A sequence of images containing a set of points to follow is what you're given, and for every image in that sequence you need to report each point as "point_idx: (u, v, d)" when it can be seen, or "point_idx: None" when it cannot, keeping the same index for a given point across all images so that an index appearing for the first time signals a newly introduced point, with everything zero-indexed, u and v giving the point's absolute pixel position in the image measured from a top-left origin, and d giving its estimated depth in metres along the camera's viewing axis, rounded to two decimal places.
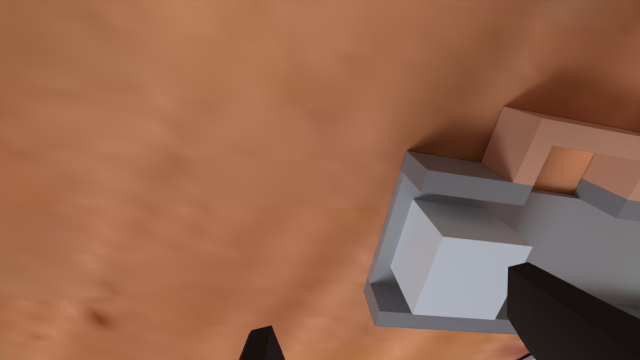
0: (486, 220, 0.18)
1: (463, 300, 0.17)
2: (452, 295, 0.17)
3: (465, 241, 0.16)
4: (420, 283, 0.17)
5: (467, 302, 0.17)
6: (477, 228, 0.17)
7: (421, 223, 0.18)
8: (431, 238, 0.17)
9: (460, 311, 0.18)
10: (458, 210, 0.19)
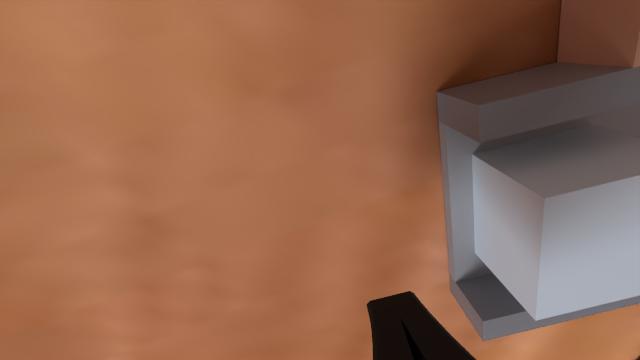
0: (601, 143, 0.11)
1: (610, 277, 0.11)
2: (590, 275, 0.11)
3: (585, 192, 0.09)
4: (530, 274, 0.11)
5: (618, 277, 0.11)
6: (595, 162, 0.10)
7: (498, 185, 0.12)
8: (524, 204, 0.10)
9: (610, 293, 0.11)
10: (548, 144, 0.12)
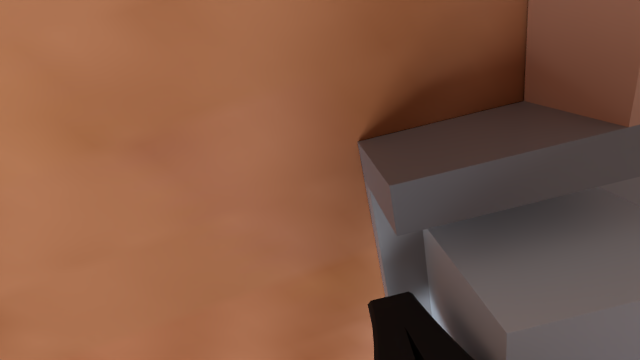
0: (597, 218, 0.08)
1: None
2: None
3: (572, 322, 0.06)
4: None
5: None
6: (588, 258, 0.07)
7: (450, 277, 0.08)
8: (482, 322, 0.07)
9: None
10: (523, 213, 0.09)
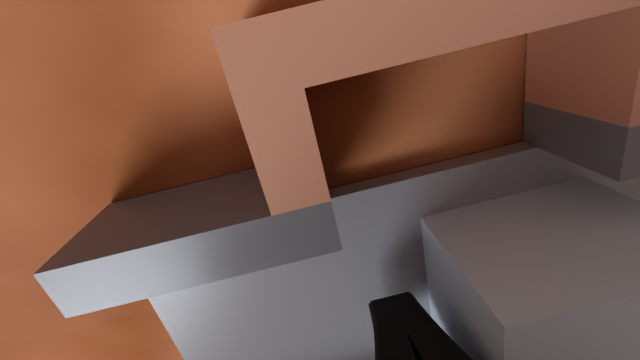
0: (596, 213, 0.08)
1: None
2: None
3: (570, 316, 0.06)
4: None
5: None
6: (586, 252, 0.07)
7: (449, 272, 0.08)
8: (480, 317, 0.07)
9: None
10: (522, 208, 0.09)
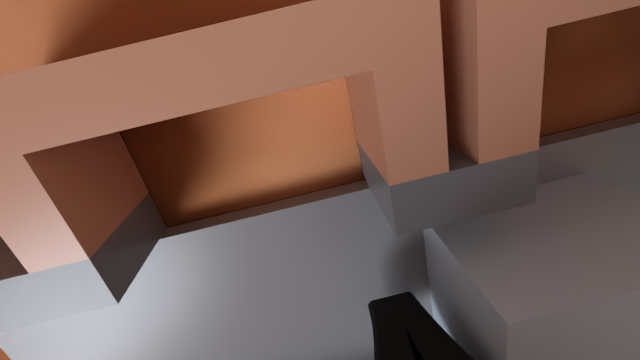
0: (598, 208, 0.08)
1: None
2: None
3: (573, 311, 0.06)
4: None
5: None
6: (589, 248, 0.07)
7: (450, 270, 0.08)
8: (483, 315, 0.07)
9: None
10: (524, 205, 0.09)
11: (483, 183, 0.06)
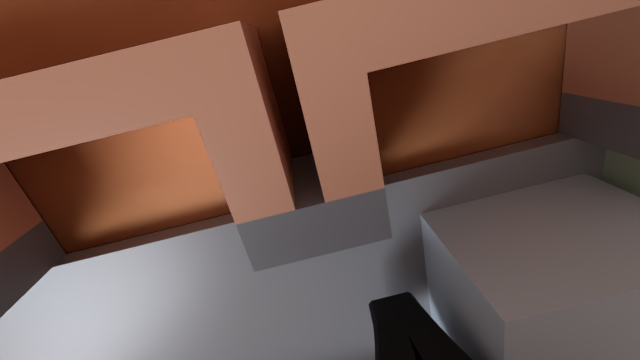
0: (596, 208, 0.08)
1: None
2: None
3: (571, 311, 0.06)
4: None
5: None
6: (587, 247, 0.07)
7: (449, 269, 0.08)
8: (479, 313, 0.07)
9: None
10: (522, 205, 0.09)
11: (334, 221, 0.06)
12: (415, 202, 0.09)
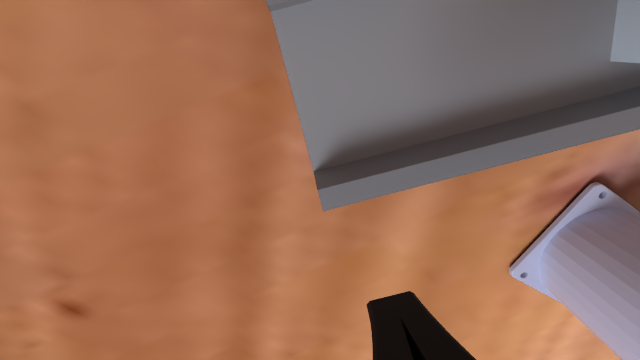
0: None
1: None
2: None
3: None
4: None
5: None
6: None
7: None
8: None
9: None
10: None
11: None
12: None
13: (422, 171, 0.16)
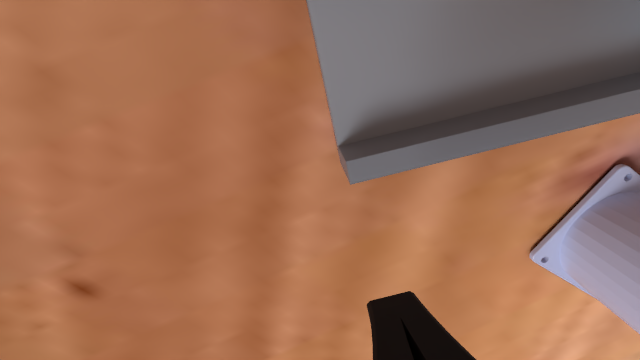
0: None
1: None
2: None
3: None
4: None
5: None
6: None
7: None
8: None
9: None
10: None
11: None
12: None
13: (453, 144, 0.15)
